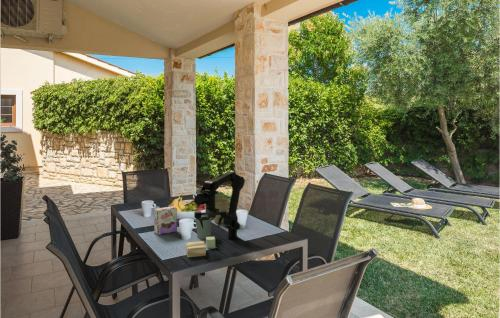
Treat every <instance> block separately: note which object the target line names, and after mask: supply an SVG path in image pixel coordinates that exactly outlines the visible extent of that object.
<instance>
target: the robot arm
mask: <svg viewBox="0 0 500 318" xmlns="http://www.w3.org/2000/svg"><path fill="white" fill-rule="evenodd" d="M229 181H230V185H231V188H232V189H231V190H232V191H231V195H230V199H229V200H230V205H229V210H228V213H227V212H226V210H219V209H216V208H215V199H216V195H217V194H219V192H218V191H217V190H218V189H219V188H220V186H221V185H223V184H225V183H227V182H229ZM245 181H246V179H245V178H244V176H241V175H239V174H237V173H235V172H234V171H226V173H224V174H222V175H220V176H218V177H216V178H212V179H207V180H205V181H204V182H203V185H202V187H201V189H200V191H199V192H198V193H196V195H195V196H194V199H193V202H194V203H195V205H196V206H203V205H205V212H202V211H201V210H196V211H194V213H193V216H194V219H196V218H197V219H198V220H199V221H200V223H201V226H202V229H203V222H202V216H207V218H211V219H214V218H215V217H216V215H219V218H218V223H217V228H218V229H219V228H220V227H221V226H220V225H221V224H222V223H221V221H222V219H223V218H224V219H223V220H224V222H223V224H224V227H225V228H226V229H227V235H226V236H227V239H228V240H234V239H235V240H236V239H239V236H238V230H240V228H241V224H240V223H239V222H238V219H239V218H238V215H237V211H238V210H237V209H238V205H239V199H240V193H241V190H242V189H243V188H244V185H245Z"/></svg>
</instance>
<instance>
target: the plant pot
mask: <svg viewBox="0 0 500 318" xmlns="http://www.w3.org/2000/svg"><path fill="white" fill-rule="evenodd" d="M230 200H231V199H229V198H222V197H221V198H220V197H219V198H216V197H215V208H216V209H219V210H226V212H227V213H228V211H229V205H230ZM218 218H219V215H216V217H215V218H213V221H214V223H215V224H216V223H217V224H218ZM223 219H224V218H223ZM223 219H222V221H221V223H220V224H222V223H223V224H224V220H223Z"/></svg>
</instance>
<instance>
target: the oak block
mask: <svg viewBox="0 0 500 318" xmlns="http://www.w3.org/2000/svg"><path fill="white" fill-rule="evenodd" d="M185 251H186V256H187V258H193V257H194V258H195V257H205V256H207V247H206V243H205V241H203V240H202V241H201V240H200V241H191V242H190V241H189V242H186V243H185Z"/></svg>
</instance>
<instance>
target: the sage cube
mask: <svg viewBox="0 0 500 318" xmlns="http://www.w3.org/2000/svg"><path fill="white" fill-rule="evenodd" d="M205 246H206V249H211V248H213V249H215V248H216V238H215V236H210V237H206V239H205Z"/></svg>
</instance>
